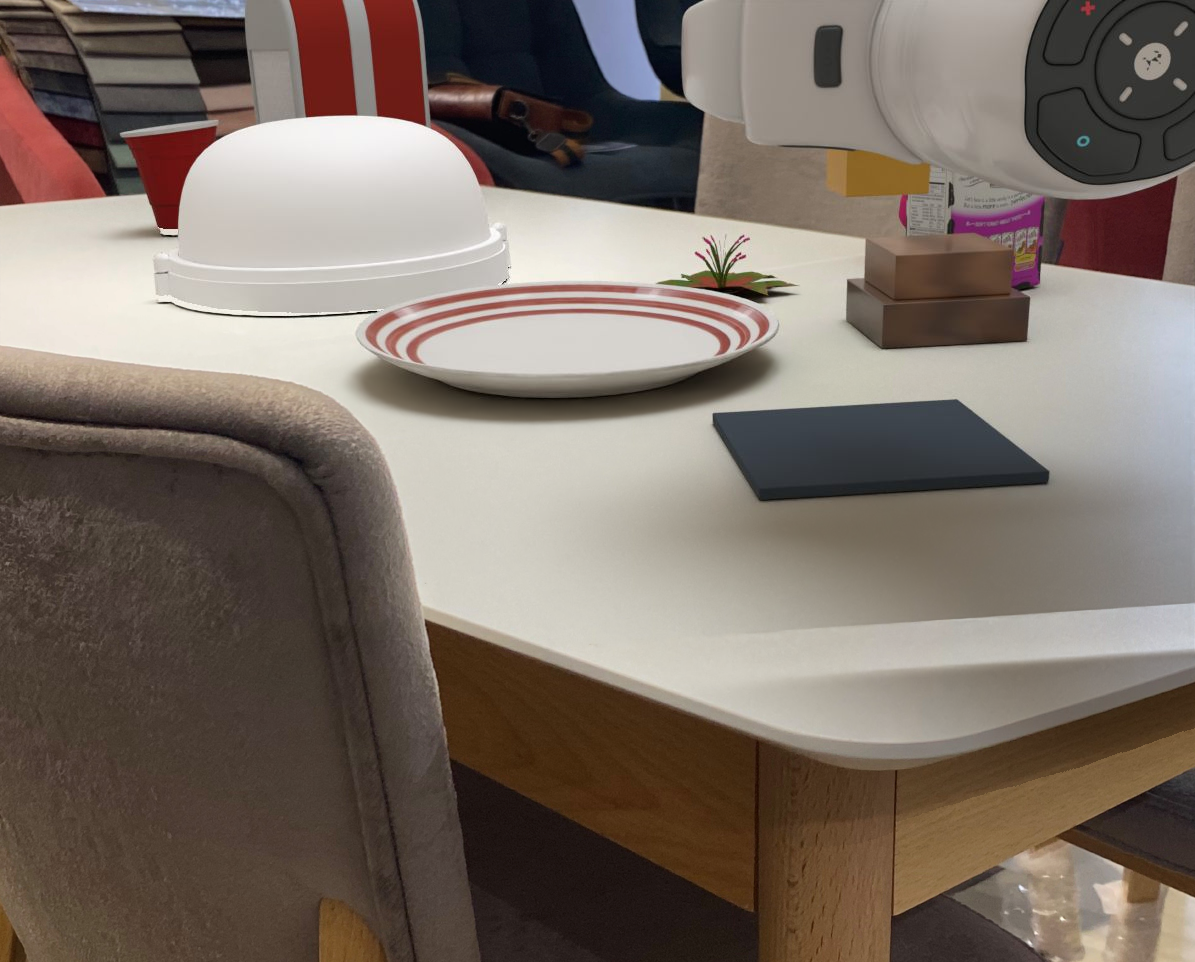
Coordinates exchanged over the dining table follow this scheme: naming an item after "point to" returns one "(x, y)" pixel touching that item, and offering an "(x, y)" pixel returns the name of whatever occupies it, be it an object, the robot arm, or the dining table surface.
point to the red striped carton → (337, 59)
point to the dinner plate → (567, 336)
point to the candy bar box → (982, 218)
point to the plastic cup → (168, 162)
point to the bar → (874, 174)
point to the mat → (872, 449)
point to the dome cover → (330, 219)
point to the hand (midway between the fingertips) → (876, 44)
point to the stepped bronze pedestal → (937, 292)
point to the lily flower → (726, 275)
